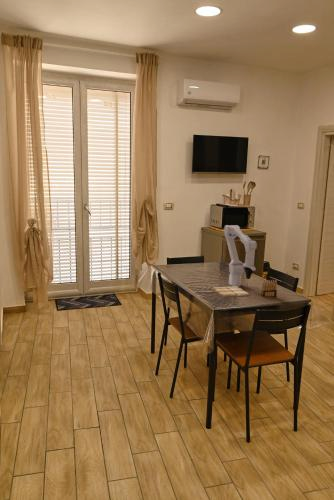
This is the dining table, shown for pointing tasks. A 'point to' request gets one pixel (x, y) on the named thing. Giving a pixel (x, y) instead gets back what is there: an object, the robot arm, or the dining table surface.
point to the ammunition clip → (269, 289)
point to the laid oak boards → (224, 291)
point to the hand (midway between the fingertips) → (248, 278)
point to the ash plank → (238, 291)
